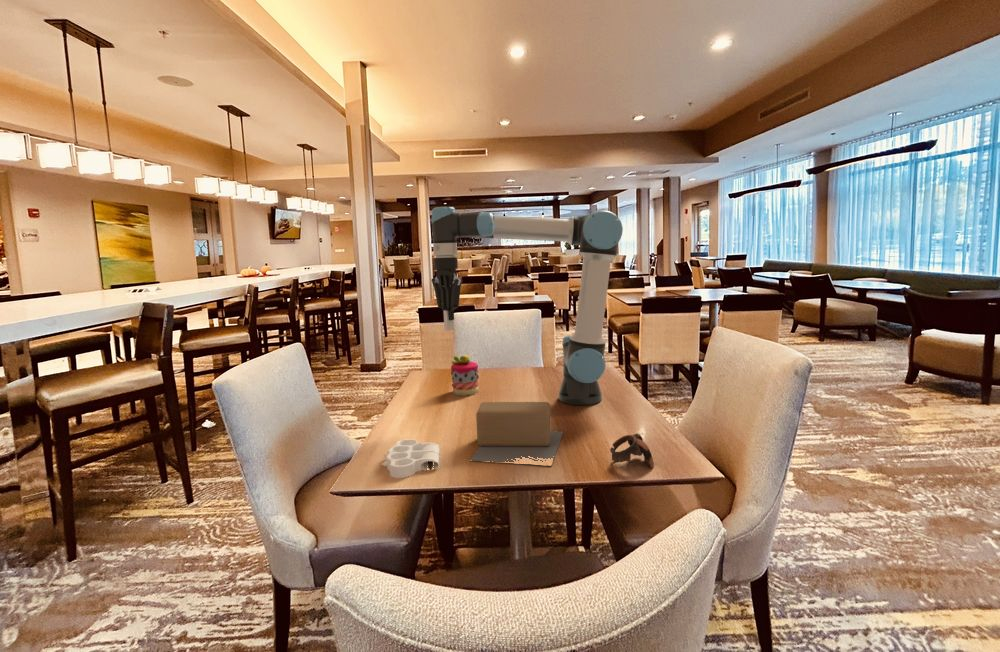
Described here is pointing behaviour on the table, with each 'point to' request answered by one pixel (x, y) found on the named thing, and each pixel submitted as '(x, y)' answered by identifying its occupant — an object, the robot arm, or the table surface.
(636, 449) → the brown hollow looped part
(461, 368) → the cake
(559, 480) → the table surface
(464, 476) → the table surface
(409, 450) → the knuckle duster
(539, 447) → the rubber mat
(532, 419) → the wooden block
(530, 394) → the table surface
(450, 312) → the robot arm
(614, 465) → the table surface
